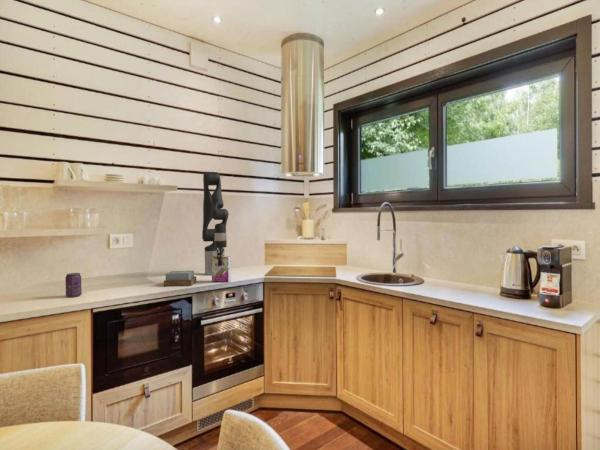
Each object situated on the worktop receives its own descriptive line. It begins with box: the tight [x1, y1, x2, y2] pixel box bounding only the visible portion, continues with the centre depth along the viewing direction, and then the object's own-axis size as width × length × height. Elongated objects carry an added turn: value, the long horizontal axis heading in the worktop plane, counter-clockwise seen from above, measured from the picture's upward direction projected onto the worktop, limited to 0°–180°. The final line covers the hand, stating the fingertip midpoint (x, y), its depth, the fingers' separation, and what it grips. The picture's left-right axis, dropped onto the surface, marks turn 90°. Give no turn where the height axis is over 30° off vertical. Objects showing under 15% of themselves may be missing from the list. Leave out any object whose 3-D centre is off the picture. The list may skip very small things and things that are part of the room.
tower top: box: [165, 270, 195, 280], centre depth 220 cm, size 11×14×4 cm
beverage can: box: [65, 272, 83, 298], centre depth 188 cm, size 7×7×12 cm
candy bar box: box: [211, 255, 232, 283], centre depth 228 cm, size 11×5×16 cm, turn 84°
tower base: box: [163, 276, 197, 288], centre depth 221 cm, size 14×16×4 cm
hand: (221, 265), depth 228 cm, fingers open, 8 cm apart
